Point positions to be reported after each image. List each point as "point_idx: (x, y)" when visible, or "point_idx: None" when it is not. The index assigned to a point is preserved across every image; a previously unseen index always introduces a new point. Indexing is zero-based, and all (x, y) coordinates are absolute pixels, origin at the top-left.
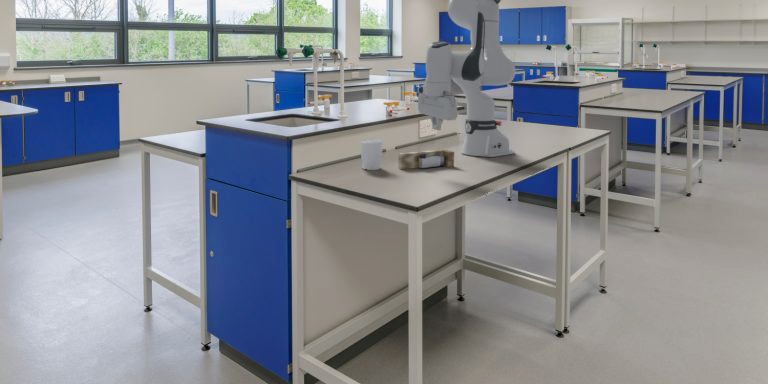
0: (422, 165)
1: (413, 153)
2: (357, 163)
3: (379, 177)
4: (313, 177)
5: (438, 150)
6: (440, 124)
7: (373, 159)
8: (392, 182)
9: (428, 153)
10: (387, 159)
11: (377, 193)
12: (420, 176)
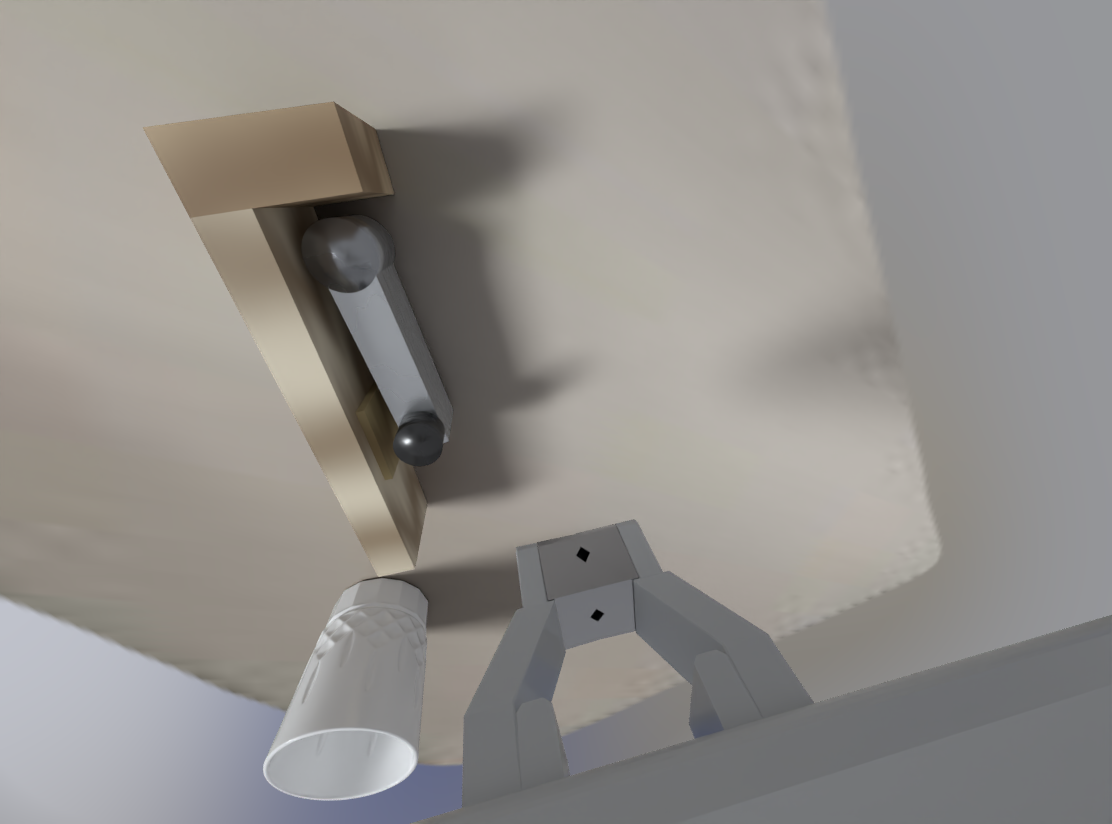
0: (451, 415)
1: (384, 497)
2: (252, 643)
3: None
4: None
5: (240, 256)
6: (680, 592)
7: (425, 654)
8: None
9: (334, 375)
10: (92, 512)
11: (773, 624)
12: (615, 460)
